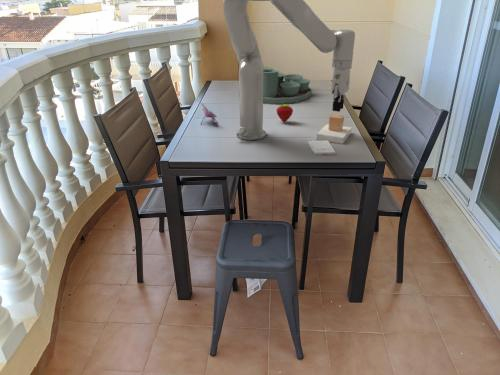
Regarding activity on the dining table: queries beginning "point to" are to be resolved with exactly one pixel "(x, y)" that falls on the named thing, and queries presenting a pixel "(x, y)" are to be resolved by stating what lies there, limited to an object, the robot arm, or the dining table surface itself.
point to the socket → (334, 134)
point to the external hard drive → (321, 147)
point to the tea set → (284, 87)
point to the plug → (336, 122)
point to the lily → (208, 113)
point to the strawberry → (284, 112)
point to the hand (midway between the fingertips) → (337, 109)
